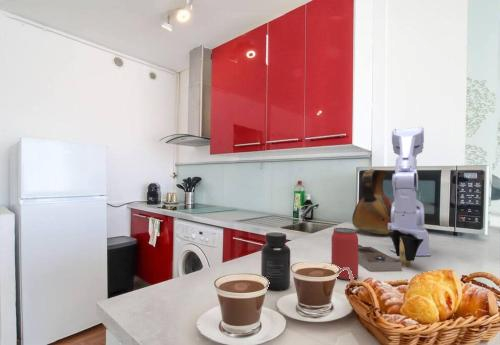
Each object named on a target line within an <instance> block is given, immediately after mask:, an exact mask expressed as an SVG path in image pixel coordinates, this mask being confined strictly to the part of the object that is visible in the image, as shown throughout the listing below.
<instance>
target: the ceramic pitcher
mask: <svg viewBox="0 0 500 345" xmlns="http://www.w3.org/2000/svg"><path fill="white" fill-rule="evenodd" d="M389 174H390V171H388V170H385V169H373V168H371V169H366V170H364V172H363V174H362V176H361V184H362V186H361V187H362V193H363V197H362V198H361V199H360V200H359V201H358V202H357V204H356V206H355V208H354V210H353V213H352V225H353V226H354V227H355V228H356V229H358V230H360V231H363V232H368V233H373V234H377V235H378V234H379V235H385V236H386V235H389V232H393V230H392V229H388V223H391V208H392V203H393V202H394V201H392V200H391V199H390V198H389V196H387V195H386V194H385V192H384V189H383V188H384V187H383V185H384V180H385V177H386V176H387V175H389Z"/></svg>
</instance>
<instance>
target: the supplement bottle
mask: <svg viewBox="0 0 500 345" xmlns="http://www.w3.org/2000/svg"><path fill="white" fill-rule="evenodd" d="M287 241H288V240H287V234H286V233H283V232H277V231H276V232H267V233H266V234H265V244H264V245H263V246H262V248H261V253H260V254H261V255H260V256H261V257H260V258H261V259H260V260H261V262H260V264H261V266H260V267H261V269H260V271H261V272H260V275H262V276H264V277H266V278H267V279H268V280H269V282H270V284H269V287H268V289H267V290H270V291H273V292H274V291H277V292H278V291H279V292H280V291H284V290H287V289H289V288H290V286H291V248H290V247H289V246H288V244H287Z"/></svg>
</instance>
